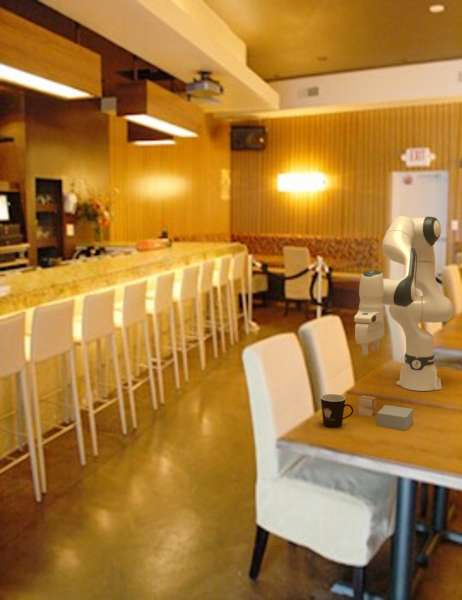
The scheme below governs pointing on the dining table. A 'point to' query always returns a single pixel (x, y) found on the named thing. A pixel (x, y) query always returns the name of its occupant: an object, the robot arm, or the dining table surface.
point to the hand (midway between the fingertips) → (370, 352)
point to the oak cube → (366, 406)
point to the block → (395, 417)
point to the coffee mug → (333, 410)
